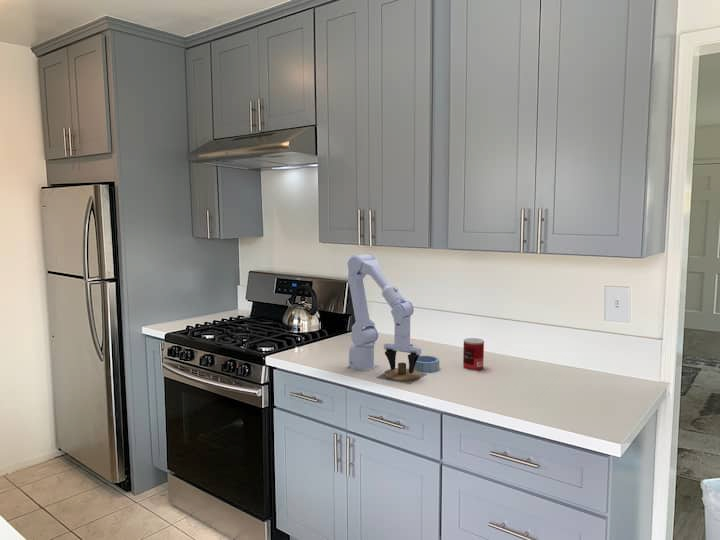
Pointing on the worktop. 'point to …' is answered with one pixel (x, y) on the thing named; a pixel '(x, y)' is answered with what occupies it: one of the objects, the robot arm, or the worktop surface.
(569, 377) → the worktop surface
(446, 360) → the worktop surface
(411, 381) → the mat
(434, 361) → the bowl
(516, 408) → the worktop surface
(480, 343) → the canned food
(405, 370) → the lid
